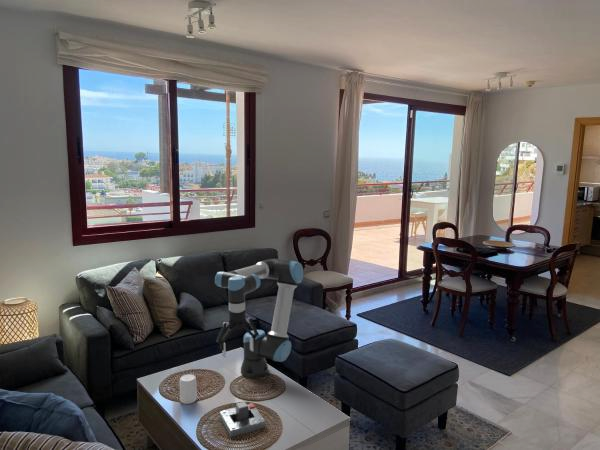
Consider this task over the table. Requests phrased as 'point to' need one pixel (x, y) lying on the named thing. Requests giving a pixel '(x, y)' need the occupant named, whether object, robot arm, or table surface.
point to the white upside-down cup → (188, 388)
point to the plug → (242, 411)
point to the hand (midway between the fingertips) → (238, 353)
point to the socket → (245, 425)
